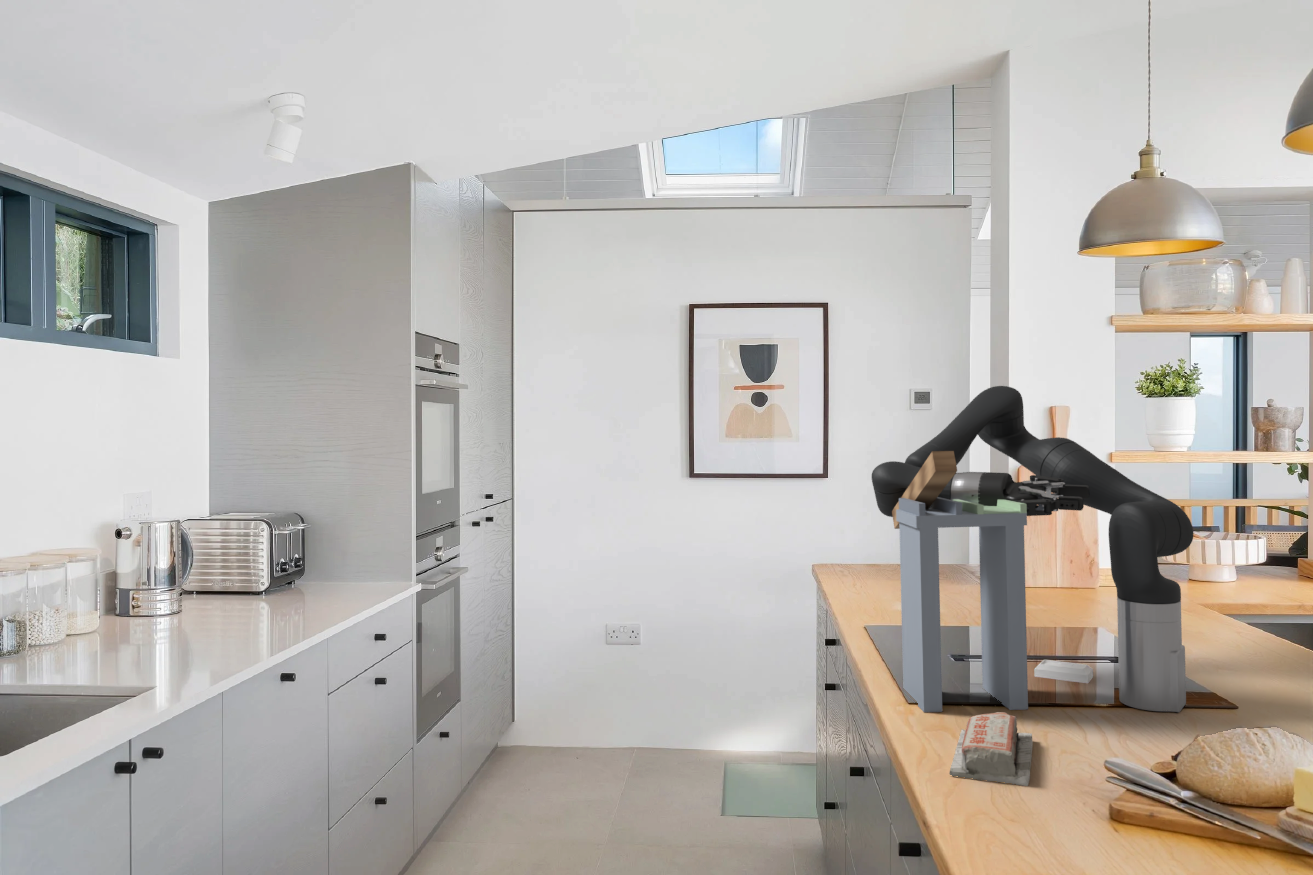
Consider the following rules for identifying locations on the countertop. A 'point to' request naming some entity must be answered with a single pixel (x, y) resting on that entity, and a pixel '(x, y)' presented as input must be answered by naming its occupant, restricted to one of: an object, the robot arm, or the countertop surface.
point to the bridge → (997, 593)
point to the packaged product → (993, 750)
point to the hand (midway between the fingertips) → (1085, 497)
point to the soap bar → (1064, 671)
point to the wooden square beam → (930, 480)
